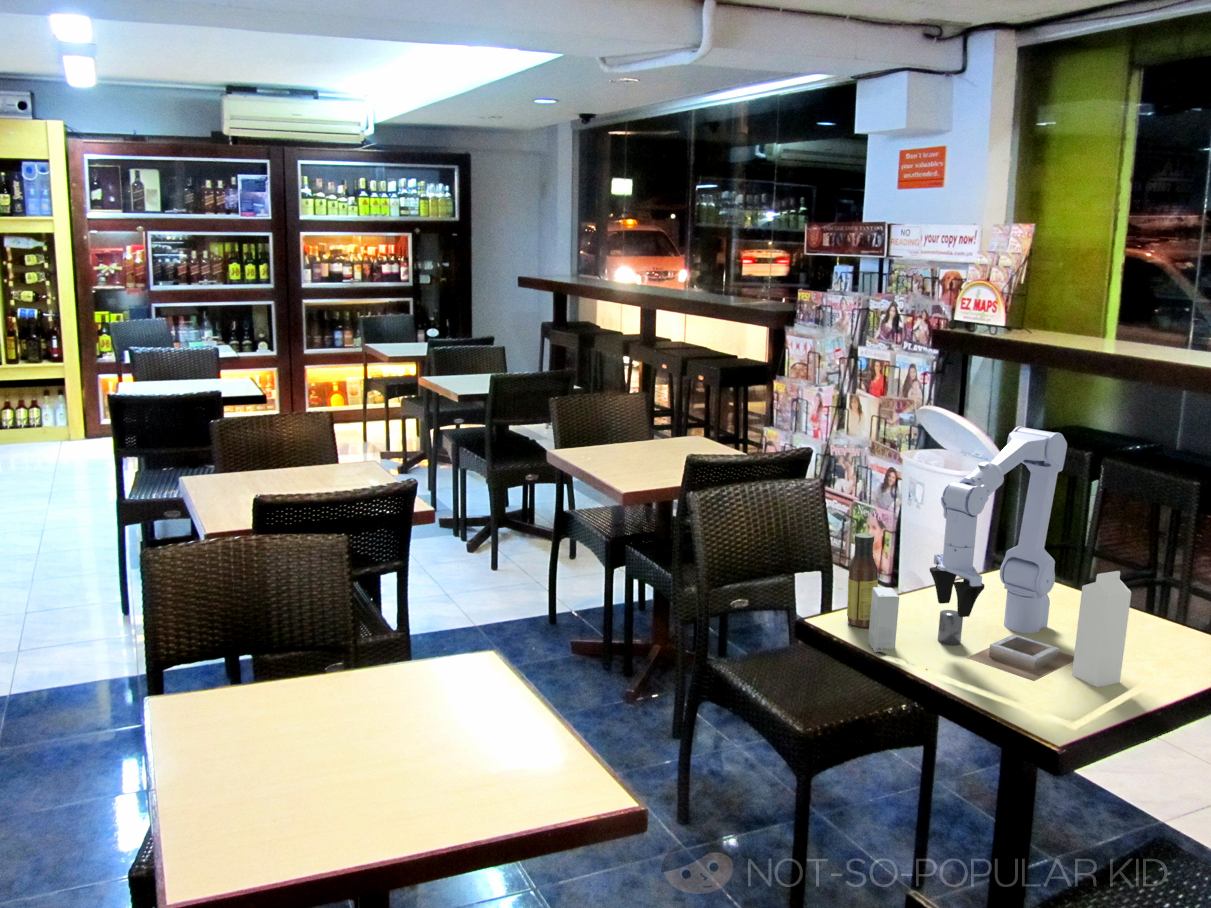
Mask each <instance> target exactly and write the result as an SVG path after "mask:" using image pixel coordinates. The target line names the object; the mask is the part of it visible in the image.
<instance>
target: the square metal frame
mask: <svg viewBox="0 0 1211 908" xmlns="http://www.w3.org/2000/svg"><path fill="white" fill-rule="evenodd" d="M989 648H990V649H989V656H990V657H993V658H996V659H999V660H1002V661H1005V662H1008V663H1011V664H1014V665H1017V666H1020V667H1023V668H1026V669H1029V670H1032V671H1035V670H1037V669H1039V668H1041V667H1043V666H1045V665H1047V664H1050V663H1052V662H1054V661H1056V660H1058V652H1060V648H1059V647H1058V646H1057V647H1056V646H1055V645H1051V644H1048V643H1044V642H1041V641H1037V640H1034V639H1031V638H1028V637H1025V636H1022V635H1018V634H1015V633H1013V634H1011V635H1009V636H1006V637H1004V638H1001V639H999V640H998V641H995V642H993V643H990V644H989ZM1015 648H1016V649H1019V650H1023V651H1026V652H1029V653H1032V654H1035V655H1033V656H1031V655H1028V654H1024V653H1021V652H1018V651H1015V650H1013V649H1015Z"/></svg>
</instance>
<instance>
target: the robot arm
mask: <svg viewBox="0 0 1211 908" xmlns="http://www.w3.org/2000/svg"><path fill="white" fill-rule="evenodd" d="M1067 449H1068V442H1067V440H1066V439H1065V437H1064V435H1063V434H1062V433H1060V432H1052V431H1047V430H1040V429H1035V428H1029V427H1025V426H1021V425H1019V426H1016V427H1015V428H1014V429H1013V430H1012V431H1011V432H1009V434H1008V437H1007V441H1006V445H1005V446H1004V447H1003V449H1001V451H1000V452H999V453H998V454H997V455H996V456H995V457H994V458H993V459H992V460H991V461H982V462H980V463H979V464H978V465H977V466H976V467H975V468H973V469H972V470H971V471H970V472H969V473H968V474H967V475H965V476H964V477H963V478H962V479H961V480H960V481H959V482H958V481H953V482H950V483H949V484H947V485H946V486H945V487H944V489H943V492H942V496H941V497H940V503H941V506H942V508H943V517H944V520H945V527H944V540H943V551H942V553H938V554H937V553H935V554H934V556H933V564H934V565H935V566H932V567H929V572H930V575H931V576H932V579H933V583H934V586H935V591H936V596H937V597H936V599H937V602H938V604H940V605H941V604H949V603H950V601H951V598H952V594H953V587H954V589H955V594H956V601H957V603H956V604H957V606H956V607H957V610H956V611H958V616H959V617H963V618H967V617H969V618H970V616H971V613H972V610H973V608H974V605H975V603H976V600H977V599H978V597H979V596H980V594H981V593H982V591H983V590H985V586H986V585H985V584H984V583H983V576H982V575H980V574H979V573H978V571H977V569H976V568H975V566H974V560H975V559H974V557H975V548H976V547H975V546H976V536H977V526H978V525H977V524H978V515H980V514H981V513H982V512H983V510H984V508H985V506H986V504H987V502H988V501H989V499H990V498H989V496H991V495H992V494H993V493H994V492H995V491H996V490H997V489H998V488H999V487H1001V486H1002V485H1003V483H1004V481H1005V478H1004V475H1006V474H1007V473H1009V472H1010V471H1011V470H1013V469H1014V468H1016V466H1018V465H1020V464H1023V465H1025V466H1026V468H1027V470H1028V471H1029V472H1030V476H1029V481H1028V482H1029V483H1028V487H1027V492H1026V497H1025V498H1026V499H1025V504H1024V510H1023V515H1022V522H1021V527H1020V531H1019V533H1020V534H1019V538H1018V543H1017V545H1016V546H1013V547H1012V548H1009V549H1007V550H1006V551H1005V555H1004V556H1005V557H1004V559H1003V561H1002V563H1001V565H1000V567H999V568H1000V569H999V578H1000V581H1001V583H1002V584H1004V589H1005V590H1006V600H1005V609H1004V620H1003V626H1004V627H1005V628H1006V629H1007V630H1010V631H1013V632H1015V633H1016V632H1017V633H1020V634H1021V633H1022V634H1035V633H1039V632H1040V631H1041V629H1043V628H1046V629H1049V630H1052V628H1051V627H1048V622H1049V614H1050V605H1051V603H1050V602H1051V601H1050V597H1049V595H1048V593H1050V592H1051V590H1052V589H1053V587H1054V585H1055V581H1056V574H1055V573H1056V572H1055V566H1056V565H1055V564H1056V561H1055V559H1054V558H1053V557H1052V556H1051V555H1050V554H1049V552H1047V550H1046V549H1045V546H1046V540H1047V535H1048V529H1049V525H1050V524H1049V523H1050V519H1051V514H1052V507H1053V501H1054V495H1055V492H1056V491H1055V489H1056V485H1057V479H1058V474H1059V473H1060V472H1062V471H1063V469H1064V466H1065V460H1066V454H1067ZM957 577H959V578H961V579H962V581H956V578H957Z"/></svg>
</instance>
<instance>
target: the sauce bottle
mask: <svg viewBox="0 0 1211 908" xmlns="http://www.w3.org/2000/svg"><path fill="white" fill-rule="evenodd" d="M874 542H875V536H874V534H871V533H869V532H858V533H855V534H854V545H855V546H854V547H855V548H854V556H853V557H852V559H851V560H850V561H849V565H848V578H847V603H846V604H847V606H846V607H847V609H846V612H847V613H846V616H847V622H848V623H849V625H851V626H854V627H856V628H863V629H864V628H866V629H867V628H869V625H870V612H871V600H872V588H873V587H879V586H878V585H879V584H878V583H879V573H878V565H877V564H876V562H875V559H874Z"/></svg>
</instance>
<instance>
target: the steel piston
mask: <svg viewBox="0 0 1211 908" xmlns="http://www.w3.org/2000/svg"><path fill="white" fill-rule="evenodd" d="M963 622H964V617H959V616H958V610H953V609H943V610H940V612H939V620H938V633H937V641H938V643H940V644H942V645H945V646H959V645H961V641H962V634H963V633H962V631H963Z"/></svg>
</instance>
